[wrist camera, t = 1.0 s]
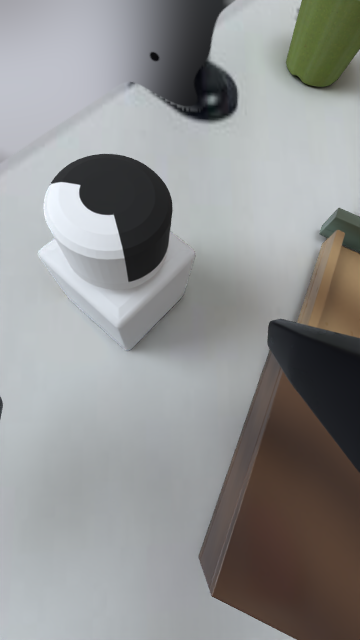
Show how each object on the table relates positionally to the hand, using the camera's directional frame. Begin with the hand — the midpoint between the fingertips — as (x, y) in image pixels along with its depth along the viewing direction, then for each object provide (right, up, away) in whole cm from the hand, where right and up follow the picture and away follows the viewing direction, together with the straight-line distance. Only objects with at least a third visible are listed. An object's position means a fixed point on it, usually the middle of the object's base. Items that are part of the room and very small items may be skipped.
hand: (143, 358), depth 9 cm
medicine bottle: (-3, +3, +15) cm, 16 cm away
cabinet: (+12, -11, +12) cm, 20 cm away
